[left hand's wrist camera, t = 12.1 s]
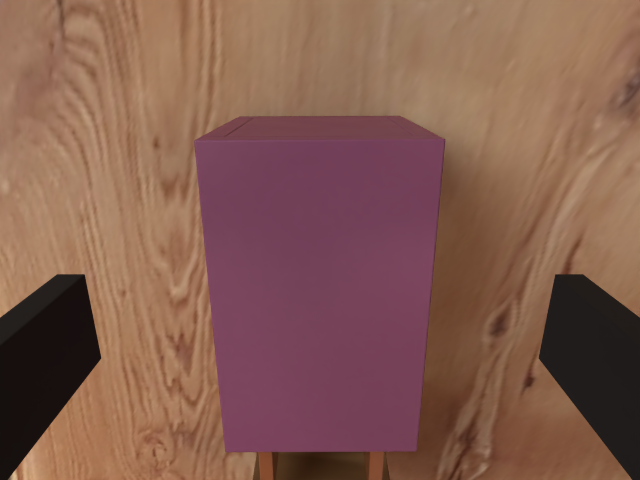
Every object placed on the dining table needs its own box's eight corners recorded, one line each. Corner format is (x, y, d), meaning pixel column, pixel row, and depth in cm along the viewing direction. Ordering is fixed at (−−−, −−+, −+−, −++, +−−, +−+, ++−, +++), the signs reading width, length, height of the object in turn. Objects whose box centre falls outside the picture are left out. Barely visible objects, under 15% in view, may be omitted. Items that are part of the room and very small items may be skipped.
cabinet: (388, 340, 34) (417, 452, 24) (253, 340, 34) (225, 452, 24) (401, 115, 28) (445, 139, 18) (238, 116, 28) (193, 140, 18)
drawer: (375, 478, 38) (390, 591, 29) (267, 478, 38) (252, 591, 29) (387, 248, 30) (411, 313, 22) (253, 249, 30) (228, 313, 22)
